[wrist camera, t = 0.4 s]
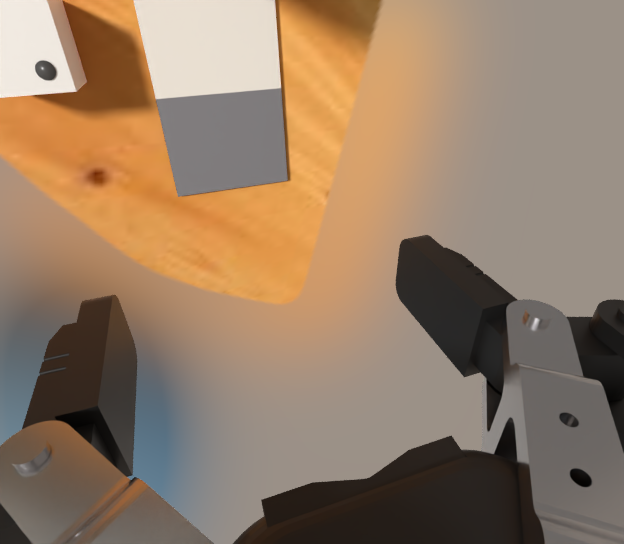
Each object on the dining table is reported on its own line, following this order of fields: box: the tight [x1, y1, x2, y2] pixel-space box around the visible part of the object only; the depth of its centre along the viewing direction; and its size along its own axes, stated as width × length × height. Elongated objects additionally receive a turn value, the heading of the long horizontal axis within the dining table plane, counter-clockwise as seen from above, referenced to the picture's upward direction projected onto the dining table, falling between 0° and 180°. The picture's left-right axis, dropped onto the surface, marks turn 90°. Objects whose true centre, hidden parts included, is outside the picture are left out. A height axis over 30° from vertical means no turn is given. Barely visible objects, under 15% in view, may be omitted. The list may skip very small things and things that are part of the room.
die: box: [0, 0, 87, 98], centre depth 26 cm, size 5×5×5 cm
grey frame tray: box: [134, 0, 288, 197], centre depth 30 cm, size 25×10×1 cm, turn 2°
